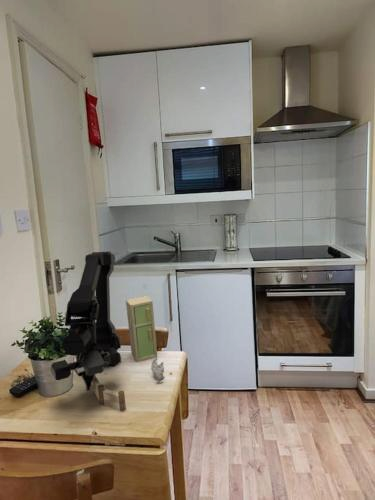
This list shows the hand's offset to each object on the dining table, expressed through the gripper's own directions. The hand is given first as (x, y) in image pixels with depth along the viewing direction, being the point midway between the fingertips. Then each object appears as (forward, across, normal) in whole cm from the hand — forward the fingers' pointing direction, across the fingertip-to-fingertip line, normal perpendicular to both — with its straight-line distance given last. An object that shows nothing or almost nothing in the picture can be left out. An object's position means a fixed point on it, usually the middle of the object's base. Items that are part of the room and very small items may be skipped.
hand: (88, 390), depth 102 cm
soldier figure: (+1, +22, -3) cm, 22 cm away
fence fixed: (+2, +4, -9) cm, 10 cm away
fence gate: (+1, +2, -1) cm, 3 cm away
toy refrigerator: (+1, +24, +12) cm, 27 cm away
